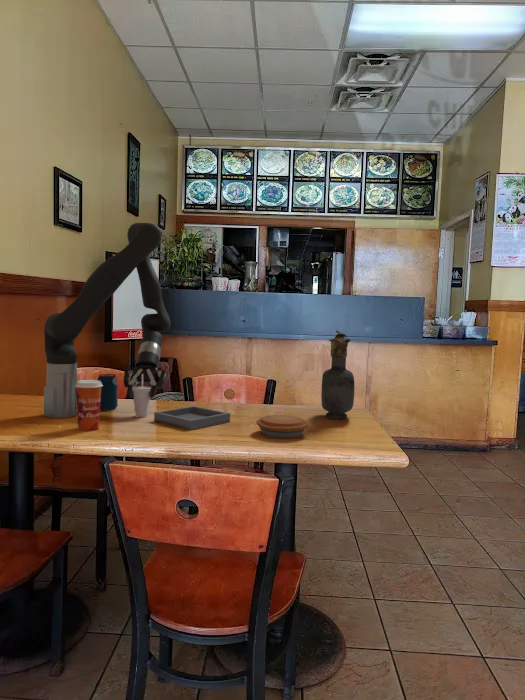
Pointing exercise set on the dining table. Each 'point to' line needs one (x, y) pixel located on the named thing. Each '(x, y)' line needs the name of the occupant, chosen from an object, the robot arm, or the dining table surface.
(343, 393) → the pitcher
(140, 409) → the smoothie
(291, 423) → the pie
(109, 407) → the soda can
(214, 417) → the tray
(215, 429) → the dining table surface
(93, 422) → the paper cup
